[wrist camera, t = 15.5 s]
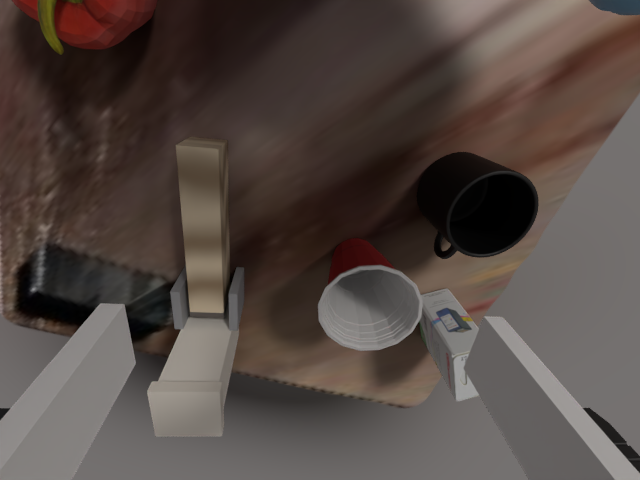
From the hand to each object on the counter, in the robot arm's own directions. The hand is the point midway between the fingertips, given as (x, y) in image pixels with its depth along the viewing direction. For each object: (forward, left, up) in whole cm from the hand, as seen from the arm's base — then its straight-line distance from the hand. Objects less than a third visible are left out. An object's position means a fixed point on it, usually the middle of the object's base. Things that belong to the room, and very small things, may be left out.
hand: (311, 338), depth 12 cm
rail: (+8, -10, -29) cm, 32 cm away
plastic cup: (+12, +8, -29) cm, 32 cm away
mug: (+3, +19, -29) cm, 35 cm away
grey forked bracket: (+20, -10, -29) cm, 37 cm away
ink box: (+21, +22, -29) cm, 42 cm away
